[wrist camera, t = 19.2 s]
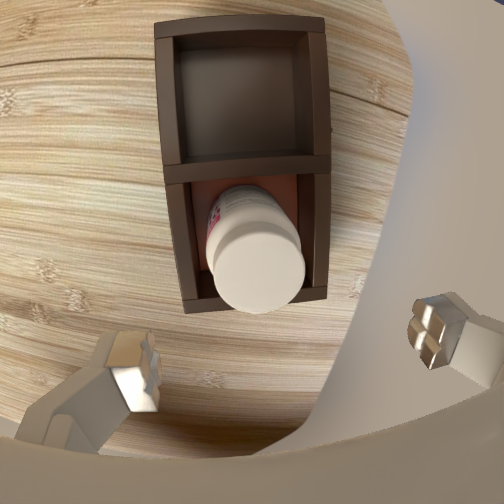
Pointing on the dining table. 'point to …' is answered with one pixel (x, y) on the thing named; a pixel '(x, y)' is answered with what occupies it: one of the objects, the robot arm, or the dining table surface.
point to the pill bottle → (253, 250)
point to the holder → (244, 134)
